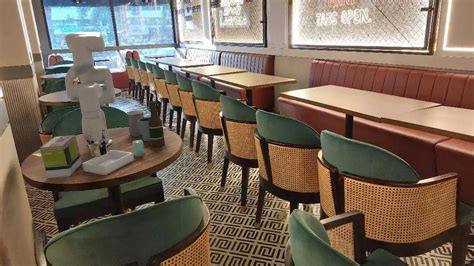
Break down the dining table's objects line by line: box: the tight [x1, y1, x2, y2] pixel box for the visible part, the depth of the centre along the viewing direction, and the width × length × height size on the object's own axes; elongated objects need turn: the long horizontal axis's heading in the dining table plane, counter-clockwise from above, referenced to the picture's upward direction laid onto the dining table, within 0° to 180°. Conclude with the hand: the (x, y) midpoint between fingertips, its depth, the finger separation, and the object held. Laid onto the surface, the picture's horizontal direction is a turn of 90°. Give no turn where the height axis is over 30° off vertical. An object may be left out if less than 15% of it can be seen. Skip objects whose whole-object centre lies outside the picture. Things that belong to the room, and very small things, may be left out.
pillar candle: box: [126, 109, 145, 137], centre depth 198 cm, size 10×10×15 cm
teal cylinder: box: [131, 139, 146, 158], centre depth 165 cm, size 5×5×7 cm
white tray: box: [81, 149, 135, 176], centre depth 153 cm, size 14×18×4 cm
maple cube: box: [88, 142, 109, 157], centre depth 147 cm, size 5×5×5 cm
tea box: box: [39, 134, 83, 179], centre depth 149 cm, size 15×10×15 cm, turn 5°
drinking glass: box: [138, 116, 150, 142], centre depth 188 cm, size 10×10×12 cm
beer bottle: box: [148, 100, 165, 148], centre depth 175 cm, size 8×8×24 cm
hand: (99, 153), depth 148 cm, fingers closed on maple cube, 5 cm apart
